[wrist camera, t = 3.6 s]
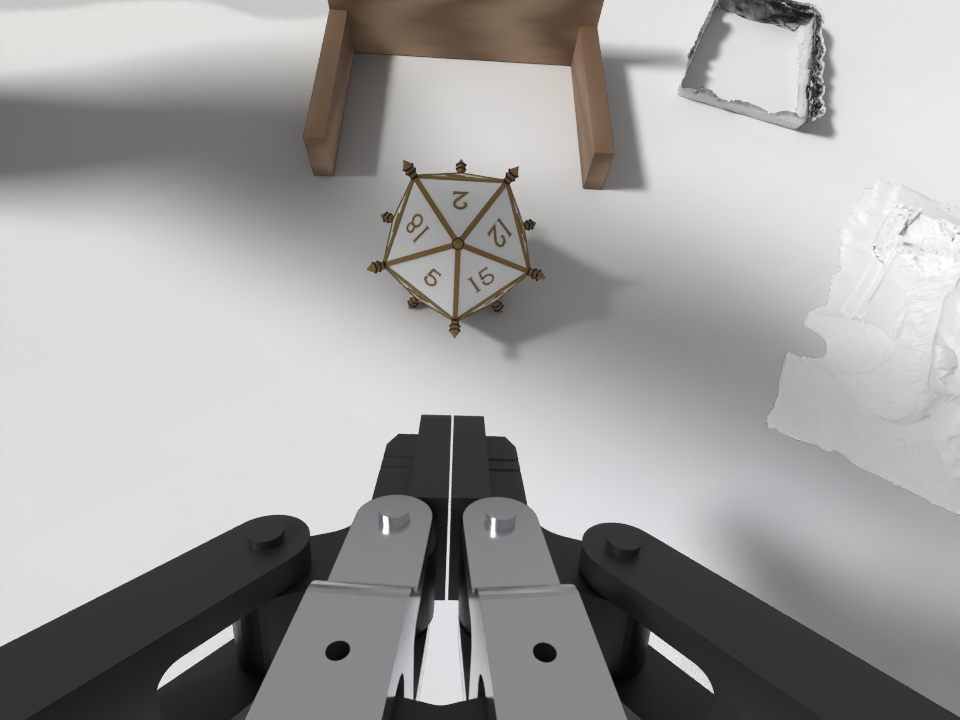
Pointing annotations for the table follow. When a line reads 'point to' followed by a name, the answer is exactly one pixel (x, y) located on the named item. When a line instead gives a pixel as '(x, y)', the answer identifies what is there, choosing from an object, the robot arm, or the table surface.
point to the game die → (457, 242)
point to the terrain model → (887, 348)
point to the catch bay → (465, 35)
